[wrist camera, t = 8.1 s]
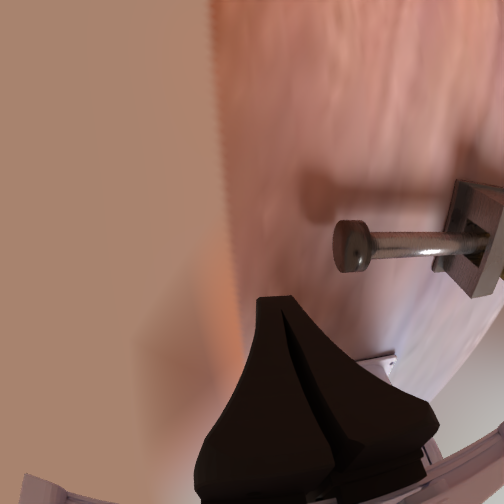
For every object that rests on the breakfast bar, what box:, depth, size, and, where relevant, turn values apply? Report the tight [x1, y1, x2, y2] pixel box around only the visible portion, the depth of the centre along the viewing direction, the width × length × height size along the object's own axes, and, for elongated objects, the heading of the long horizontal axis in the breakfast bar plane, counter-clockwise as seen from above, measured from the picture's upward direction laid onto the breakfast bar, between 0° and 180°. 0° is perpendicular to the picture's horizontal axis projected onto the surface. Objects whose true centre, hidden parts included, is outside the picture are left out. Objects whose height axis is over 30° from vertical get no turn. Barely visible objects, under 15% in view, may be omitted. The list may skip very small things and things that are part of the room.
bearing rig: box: [432, 179, 504, 299], centre depth 18 cm, size 12×8×5 cm, turn 89°
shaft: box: [333, 220, 490, 273], centre depth 17 cm, size 14×3×3 cm, turn 89°
